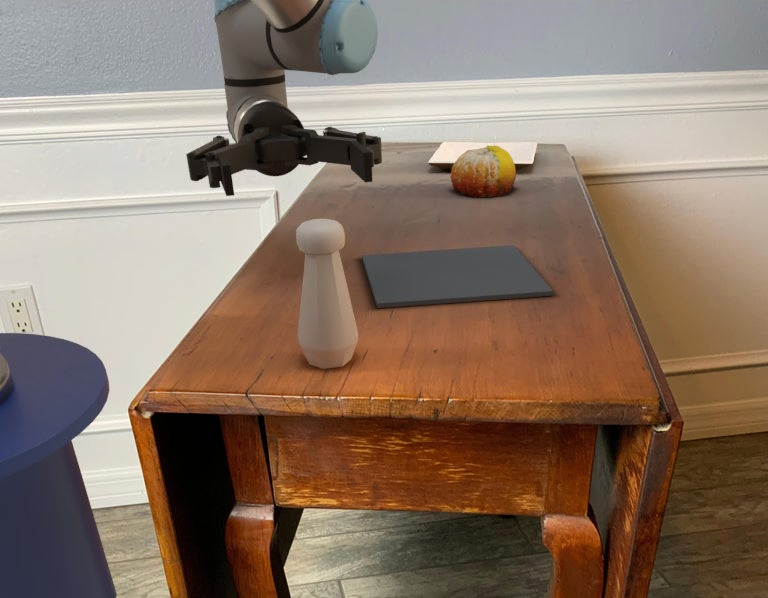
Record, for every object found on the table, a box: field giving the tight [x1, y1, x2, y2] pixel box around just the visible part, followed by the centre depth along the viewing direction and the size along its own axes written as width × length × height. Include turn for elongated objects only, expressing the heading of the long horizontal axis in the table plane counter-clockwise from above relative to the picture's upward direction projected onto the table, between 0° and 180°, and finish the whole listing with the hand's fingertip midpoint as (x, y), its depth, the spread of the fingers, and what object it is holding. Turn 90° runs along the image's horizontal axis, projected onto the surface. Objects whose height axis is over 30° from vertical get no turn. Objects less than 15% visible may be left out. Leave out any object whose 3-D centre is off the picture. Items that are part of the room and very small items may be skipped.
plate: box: [427, 141, 538, 171], centre depth 148 cm, size 19×19×2 cm
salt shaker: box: [295, 218, 360, 370], centre depth 73 cm, size 6×6×13 cm
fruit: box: [450, 146, 517, 198], centre depth 130 cm, size 11×10×8 cm
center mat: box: [361, 244, 554, 309], centre depth 96 cm, size 20×18×1 cm
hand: (299, 174), depth 76 cm, fingers open, 13 cm apart
